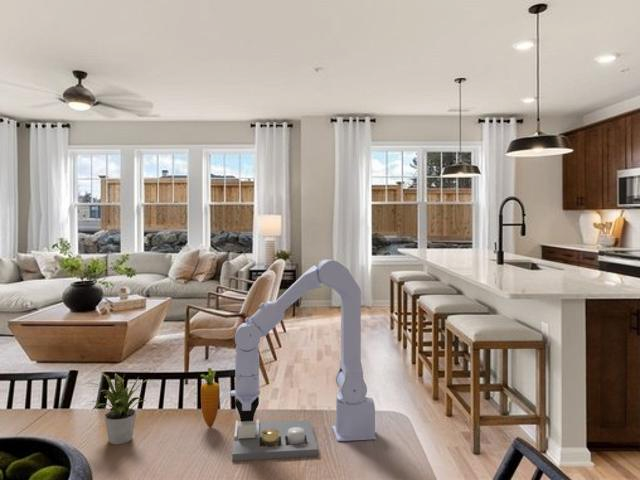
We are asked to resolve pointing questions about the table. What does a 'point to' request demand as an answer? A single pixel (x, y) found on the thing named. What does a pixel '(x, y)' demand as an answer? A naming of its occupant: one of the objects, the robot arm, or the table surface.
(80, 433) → the table surface
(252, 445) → the control panel
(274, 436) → the brass button
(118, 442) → the house plant
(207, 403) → the carrot
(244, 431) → the white block
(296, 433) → the white button
